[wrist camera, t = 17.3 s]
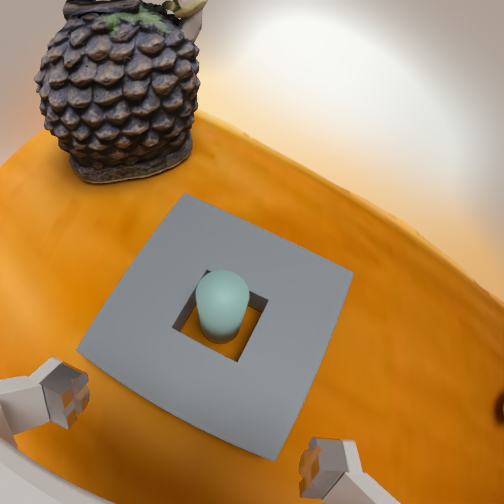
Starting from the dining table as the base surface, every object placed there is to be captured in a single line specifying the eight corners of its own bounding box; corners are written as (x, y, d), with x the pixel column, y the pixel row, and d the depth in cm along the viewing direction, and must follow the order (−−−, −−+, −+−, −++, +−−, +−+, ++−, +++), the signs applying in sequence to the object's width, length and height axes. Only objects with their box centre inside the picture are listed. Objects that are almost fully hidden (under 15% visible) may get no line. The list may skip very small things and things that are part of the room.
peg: (246, 317, 31) (258, 284, 23) (228, 350, 29) (234, 329, 22) (212, 299, 32) (211, 261, 24) (193, 332, 30) (185, 304, 22)
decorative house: (196, 115, 46) (200, -31, 24) (209, 181, 39) (218, -11, 17) (74, 136, 41) (37, 1, 20) (59, 207, 35) (-15, 45, 13)
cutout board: (339, 287, 34) (353, 272, 31) (266, 454, 25) (274, 461, 21) (186, 213, 36) (184, 192, 33) (91, 357, 27) (75, 350, 24)
